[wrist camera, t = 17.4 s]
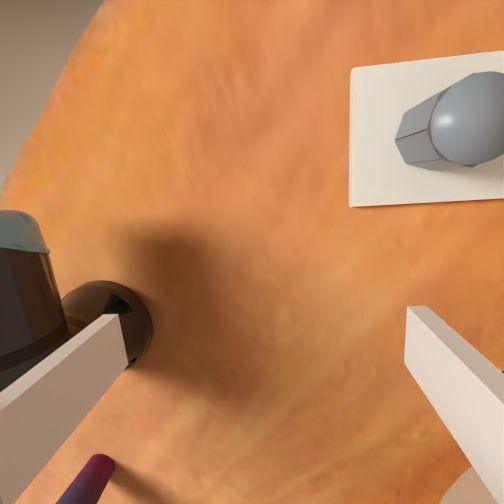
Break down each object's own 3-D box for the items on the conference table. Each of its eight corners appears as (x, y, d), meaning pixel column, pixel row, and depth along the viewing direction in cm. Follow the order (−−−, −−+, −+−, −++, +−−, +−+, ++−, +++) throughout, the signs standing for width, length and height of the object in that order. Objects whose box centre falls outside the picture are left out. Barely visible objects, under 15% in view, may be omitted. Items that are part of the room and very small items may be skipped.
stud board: (348, 205, 39) (363, 212, 31) (350, 72, 35) (367, 44, 28) (496, 197, 36) (548, 202, 29) (515, 53, 33) (580, 18, 25)
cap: (475, 145, 34) (541, 134, 25) (413, 179, 36) (454, 180, 27) (449, 85, 33) (508, 51, 24) (385, 123, 34) (419, 105, 26)
